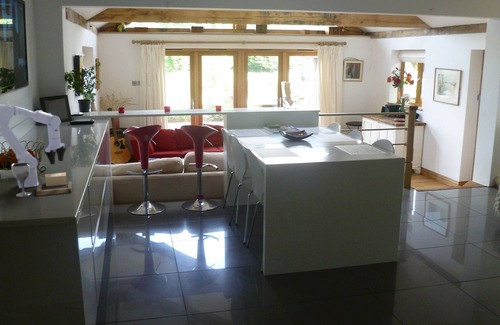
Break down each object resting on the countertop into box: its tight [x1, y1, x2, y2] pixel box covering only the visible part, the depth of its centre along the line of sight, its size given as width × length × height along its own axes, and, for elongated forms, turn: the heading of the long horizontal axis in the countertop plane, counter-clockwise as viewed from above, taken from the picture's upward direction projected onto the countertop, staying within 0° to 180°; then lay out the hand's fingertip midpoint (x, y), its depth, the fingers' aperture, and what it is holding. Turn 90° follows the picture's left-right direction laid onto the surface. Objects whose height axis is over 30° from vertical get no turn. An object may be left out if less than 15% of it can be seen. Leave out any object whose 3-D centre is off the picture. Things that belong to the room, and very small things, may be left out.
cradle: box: [35, 180, 73, 196], centre depth 246 cm, size 16×14×2 cm
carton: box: [44, 172, 68, 187], centre depth 257 cm, size 10×7×5 cm
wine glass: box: [10, 162, 33, 198], centre depth 238 cm, size 8×8×15 cm
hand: (56, 162), depth 264 cm, fingers open, 7 cm apart
